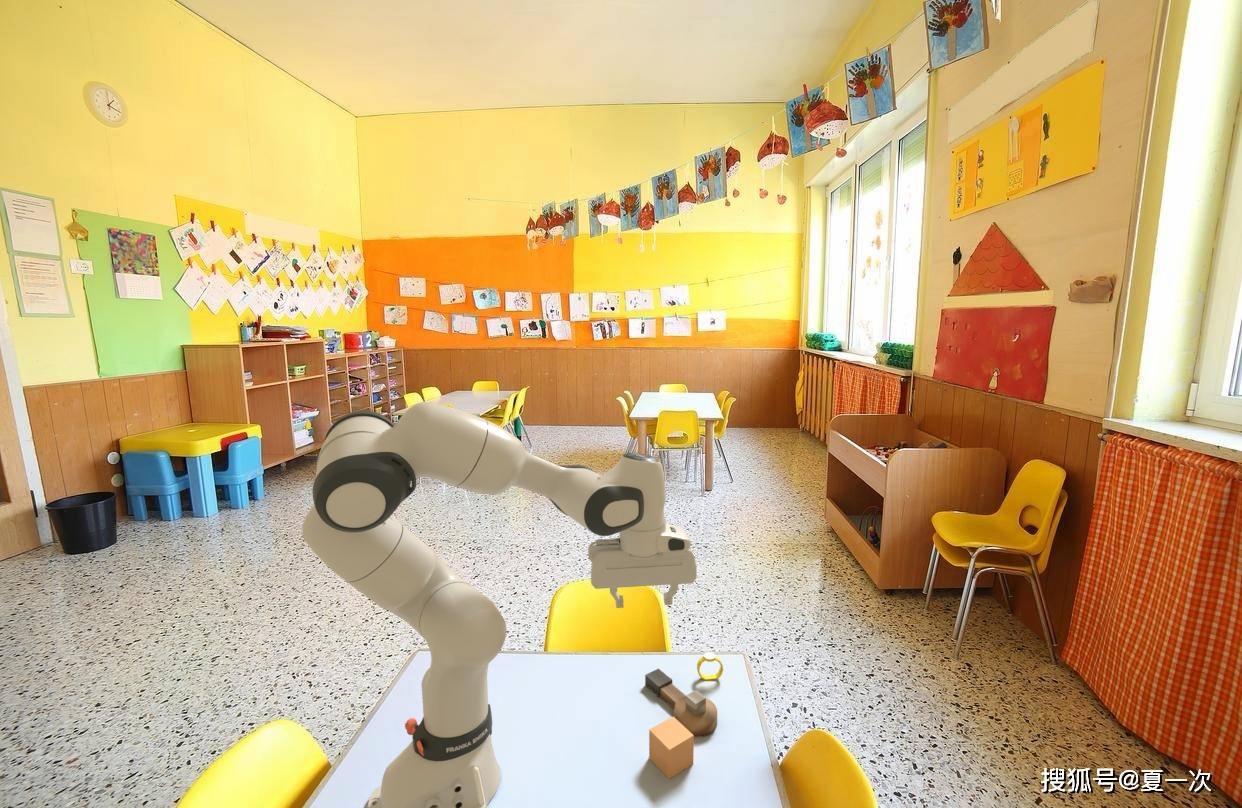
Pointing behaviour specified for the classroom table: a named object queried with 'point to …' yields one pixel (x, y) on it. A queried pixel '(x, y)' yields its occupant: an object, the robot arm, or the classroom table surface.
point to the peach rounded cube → (671, 747)
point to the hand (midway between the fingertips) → (643, 604)
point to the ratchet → (684, 704)
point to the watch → (709, 658)
